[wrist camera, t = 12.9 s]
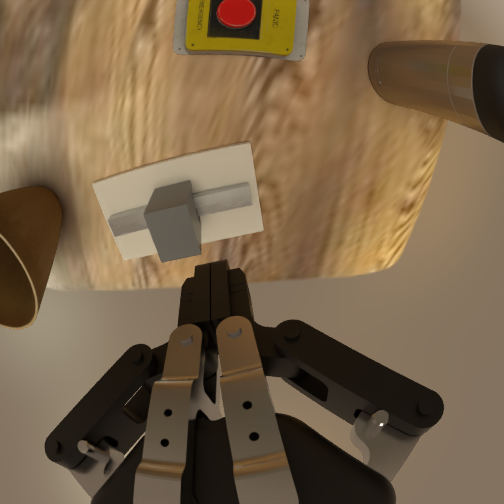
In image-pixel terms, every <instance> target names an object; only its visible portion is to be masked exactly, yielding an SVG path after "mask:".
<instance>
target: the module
mask: <svg viewBox="0 0 504 504" xmlns="http://www.w3.org/2000/svg"><path fill="white" fill-rule="evenodd" d="M191 193H192V185H191V181H190V180H187V181H183V182H179V183H175V184H171V185H167V186H163V187H159V188H155V189H154V191H153V193H152V196H151V198H150V200H149V202H148V205H147V207H146V209H145V212H144V214H143V215H144V218H145V221H146V223H147V226H148V229H149V232H150V234H151V237H152V239H153V242H154V245H155V247H156V250H157V252H158V255H159V257H160V260H161V262H162V263H163V262H167V261H172V260H177V259H181V258H186V257H191V256H196V255H200V254H201V229H202V223H201V219H200V216H199V217H198V216H197V213H196V209H195V205H194V202H193V198H192V194H191Z"/></svg>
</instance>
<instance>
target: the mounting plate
mask: <svg viewBox="0 0 504 504" xmlns="http://www.w3.org/2000/svg"><path fill="white" fill-rule="evenodd" d="M187 180H190V181H191V185H192V193H191V194H193V193H197V192H201V191H206V190H210V189H215V188H220V187H224V186H229V185H234V184H239V183H244V182H248V183H249V186H250V191H251V197H252V203H253V205H251V206H246V207H241V208H236V209H231V210H227V211H222V212H217V213H213V214H208V215H204V216H200V219H201V223H202V229H201V244H203V243H207V242H212V241H217V240H221V239H226V238H231V237H236V236H241V235H245V234H250V233H255V232H260V231H264V229H263V223H262V216H261V209H260V203H259V196H258V189H257V183H256V176H255V170H254V164H253V157H252V151H251V145H250V142H249V141H247V142H242V143H236V144H231V145H226V146H221V147H216V148H211V149H207V150H202V151H198V152H194V153H189V154H185V155H181V156H177V157H173V158H169V159H166V160H162V161H158V162H155V163H151V164H148V165H144V166H141V167H137V168H134V169H131V170H128V171H124V172H121V173H118V174H115V175H112V176H109V177H106V178H103V179H100V180H98V181H95V182H94V183H93V184H92V186H93V188H94V191H95V194H96V196H97V199H98V202H99V204H100V207H101V209H102V212H103V214H104V217H105V219H106V221H107V224H108V226H109V228H110V231H111V233H112V235H113V238H114V240H115V242H116V244H117V246H118V249H119V251H120V253H121V255H122V257H123V259H124V261H126V260H131V259H135V258H139V257H144V256H148V255H153V254H157V253H158V252H157V250H156V247H155V245H154V242H153V239H152V237H151V234H150V232H149V229H144V230H140V231H136V232H132V233H128V234H124V235H121V236H117V237H115V236H114V234H113V232H112V229H111V227H110V225H109V222H108V219H109V217H110V216H111V215H112V214H116V213H119V212H123V211H126V210H130V209H133V208H137V207H141V206H144V205H148V202H149V200H150V198H151V196H152V193H153V191H154V189H155V188H159V187H163V186H167V185H171V184H175V183H179V182H183V181H187Z"/></svg>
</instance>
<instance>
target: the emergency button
mask: <svg viewBox="0 0 504 504" xmlns="http://www.w3.org/2000/svg"><path fill="white" fill-rule="evenodd" d="M309 4H310V3H309V0H177V5H176V14H175V25H174V37H173V50H174V52H175V53H176V54H179V55H194V54H222V55H245V56H258V57H269V58H278V59H285V60H293V61H300V60H302V59H304V57H305V55H306V43H307V31H308V18H309Z"/></svg>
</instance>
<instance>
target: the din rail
mask: <svg viewBox="0 0 504 504" xmlns="http://www.w3.org/2000/svg"><path fill="white" fill-rule="evenodd" d="M192 198H193V202H194V205H195V209H196V213H197V216H198V217H199V216H204V215H208V214H213V213H217V212H222V211H227V210H231V209H236V208H241V207H246V206H251V205H253V203H252V197H251V191H250V186H249V183H248V182H244V183H239V184H234V185H229V186H224V187H220V188H215V189H210V190H206V191H201V192H197V193H193V194H192ZM146 207H147V205H144V206H141V207H137V208H133V209H130V210H126V211H123V212H119V213H116V214H112V215H111V216H110V217H109V219H108V222H109V225H110V227H111V229H112V232H113V234H114V236H115V237H117V236H121V235H124V234H128V233H132V232H136V231H140V230H144V229H148V226H147V223H146V221H145V218H144V215H143V214H144V212H145V209H146Z"/></svg>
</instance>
